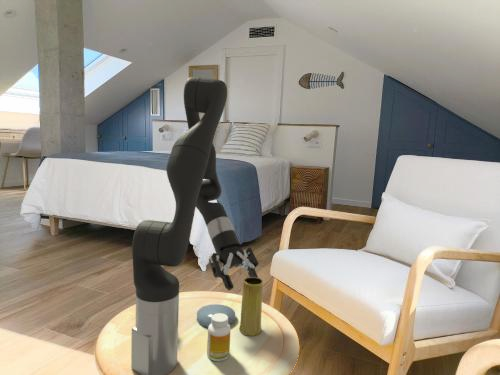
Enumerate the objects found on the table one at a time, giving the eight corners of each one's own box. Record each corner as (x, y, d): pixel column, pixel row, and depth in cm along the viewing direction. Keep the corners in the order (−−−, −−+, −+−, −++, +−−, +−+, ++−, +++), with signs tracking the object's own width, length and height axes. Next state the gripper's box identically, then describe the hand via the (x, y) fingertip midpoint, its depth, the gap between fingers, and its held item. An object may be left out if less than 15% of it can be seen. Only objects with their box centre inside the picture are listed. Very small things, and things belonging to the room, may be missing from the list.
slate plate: (216, 333, 93) (217, 328, 93) (188, 318, 100) (188, 313, 100) (242, 317, 102) (242, 313, 102) (215, 305, 109) (215, 300, 108)
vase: (262, 325, 99) (265, 277, 97) (260, 337, 93) (263, 286, 91) (240, 322, 99) (243, 275, 97) (237, 334, 93) (240, 284, 91)
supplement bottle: (233, 357, 84) (235, 319, 82) (213, 364, 81) (214, 325, 79) (222, 345, 88) (224, 309, 87) (203, 351, 85) (204, 314, 84)
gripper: (207, 232, 98) (228, 285, 91) (247, 226, 107) (269, 275, 99) (197, 245, 103) (216, 297, 96) (236, 238, 112) (257, 285, 104)
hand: (243, 285), depth 98 cm, fingers open, 8 cm apart
